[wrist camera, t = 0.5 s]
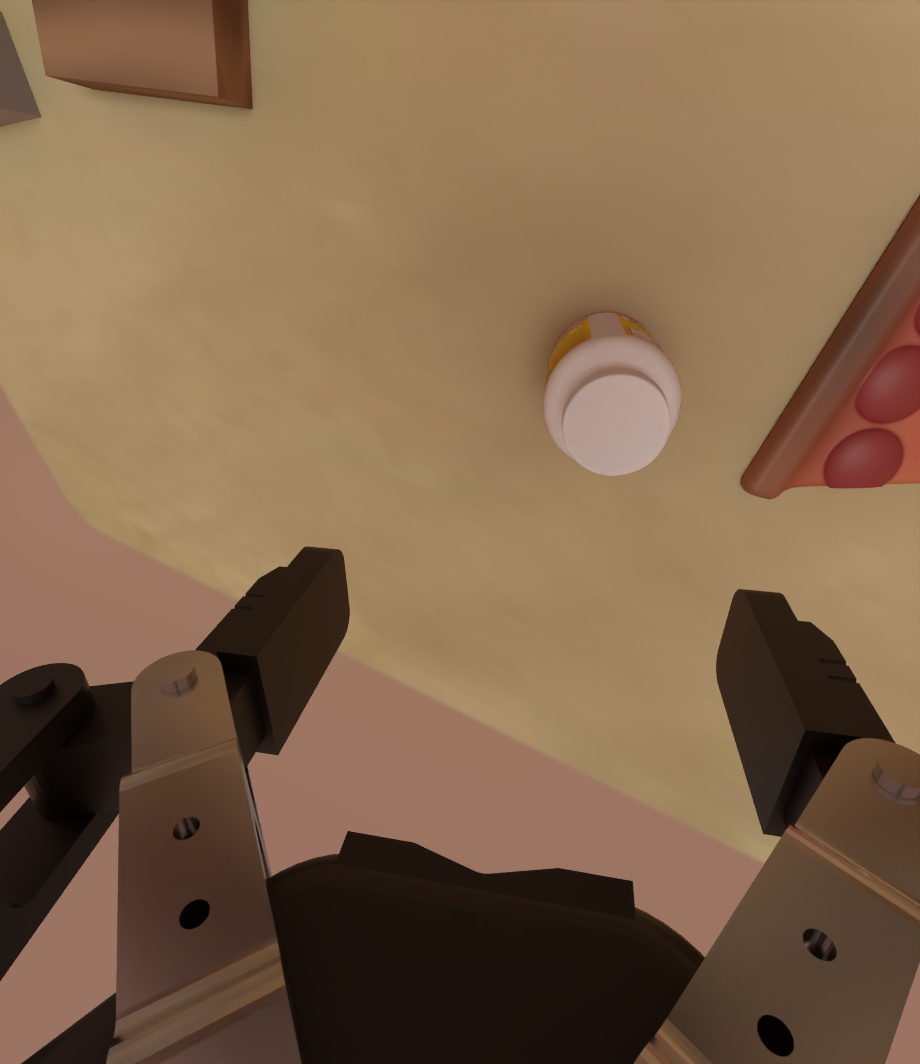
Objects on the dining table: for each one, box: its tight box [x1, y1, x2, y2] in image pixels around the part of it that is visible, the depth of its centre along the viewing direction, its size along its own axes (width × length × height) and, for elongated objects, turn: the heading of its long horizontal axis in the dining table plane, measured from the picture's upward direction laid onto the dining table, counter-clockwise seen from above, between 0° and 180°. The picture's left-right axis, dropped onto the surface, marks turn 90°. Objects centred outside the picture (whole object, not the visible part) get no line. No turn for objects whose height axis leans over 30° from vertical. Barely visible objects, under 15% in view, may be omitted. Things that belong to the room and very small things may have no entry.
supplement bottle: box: [543, 312, 681, 476], centre depth 31 cm, size 7×7×13 cm
